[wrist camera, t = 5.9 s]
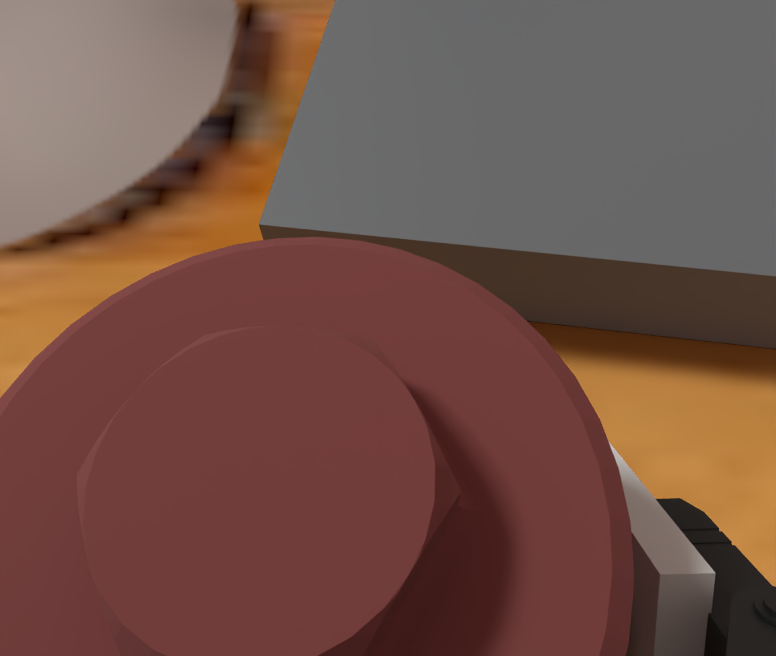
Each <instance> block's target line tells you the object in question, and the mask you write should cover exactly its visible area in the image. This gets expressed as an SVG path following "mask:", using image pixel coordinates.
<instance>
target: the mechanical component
mask: <svg viewBox="0 0 776 656" xmlns="http://www.w3.org/2000/svg"><path fill="white" fill-rule="evenodd" d="M633 591H634V566H633V551H632V536H631V521H630V517H629V512H628V508H627V503H626V499H625V494H624V490H623V485H622V481H621V476H620V472H619V468H618V465H617V463H616V460H615V457H614V455H613V452H612V450H611V447H610V444H609V442H608V439H607V437H606V434H605V432H604V429H603V426H602V424H601V421H600V419H599V417H598V415H597V414H596V412H595V410H594V408H593V407H592V405H591V403H590V401H589V400H588V398H587V396H586V394H585V393H584V391H583V389H582V388H581V386H580V384H579V382H578V381H577V379H576V377H575V376H574V374H573V373H572V372H571V371H570V369H569V368H568V367H567V365H566V364H565V363H564V362H563V360H562V359H561V358H560V357H559V355H558V354H557V353H556V352H555V350H554V349H553V348H552V346H551V345H550V344H549V343H548V341H547V340H546V339H545V338H544V337H543V336H542V335H541V334H540V333H539V332H538V331H536V330H535V329H534V328H533V327H532V326H531V325H530V324H529V323H528V322H527V321H526V320H525V319H524V318H523V317H522V316H521V315H520V314H519V313H518V312H516V311H515V310H514V309H513V308H512V307H510V306H509V305H508V304H506V303H505V302H503V301H502V300H501V299H499V298H498V297H496V296H495V295H494V294H492V293H491V292H489V291H488V290H487V289H485V288H484V287H482V286H481V285H480V284H478V283H476V282H474V281H472V280H471V279H469V278H467V277H465V276H463V275H461V274H459V273H457V272H455V271H453V270H451V269H449V268H447V267H446V266H444V265H442V264H440V263H437V262H434V261H431V260H429V259H426V258H423V257H420V256H417V255H415V254H412V253H409V252H406V251H404V250H401V249H396V248H392V247H387V246H383V245H378V244H374V243H369V242H364V241H360V240H349V239H337V238H326V237H299V238H275V239H268V240H262V241H256V242H250V243H243V244H237V245H232V246H228V247H225V248H221V249H218V250H214V251H211V252H207V253H204V254H200V255H197V256H193V257H190V258H188V259H185V260H183V261H181V262H178V263H176V264H173V265H171V266H168V267H166V268H164V269H161V270H159V271H156V272H154V273H152V274H150V275H148V276H146V277H144V278H142V279H141V280H139V281H137V282H135V283H133V284H132V285H130V286H128V287H126V288H124V289H123V290H121V291H119V292H117V293H115V294H114V295H112V296H110V297H109V298H107V299H106V300H105V301H103V302H102V303H100V304H99V305H98V306H96V307H95V308H93V309H92V310H91V311H89V312H88V313H86V314H85V315H84V316H82V317H81V318H80V319H78V320H77V321H75V322H74V323H73V324H71V325H70V326H69V327H68V328H67V329H66V330H65V331H64V332H63V333H61V334H60V335H59V336H58V337H57V338H56V339H55V340H54V341H53V342H52V343H51V344H49V345H48V346H47V347H46V348H45V349H44V350H43V351H42V352H41V353H40V354H39V355H37V356H36V357H35V358H34V360H33V361H32V362H31V363H30V364H29V365H28V366H27V368H26V369H25V370H24V371H23V372H22V373H21V375H20V376H19V377H18V378H17V379H16V380H15V382H14V383H13V384H12V385H11V386H10V387H9V389H8V390H7V391H6V392H5V393H4V394H3V396H2V397H1V398H0V656H626V652H627V648H628V644H629V635H630V624H631V613H632V602H633Z"/></svg>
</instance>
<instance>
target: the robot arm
mask: <svg viewBox="0 0 776 656" xmlns="http://www.w3.org/2000/svg"><path fill="white" fill-rule="evenodd" d="M608 442H609V441H608ZM609 444H610V443H609ZM610 447H611V450H612V452H613V455H614V457H615V460H616V463H617V465H618V468H619V472H620V476H621V481H622V485H623V490H624V494H625V499H626V503H627V508H628V512H629V517H630V521H631V536H632V551H633V566H634V591H633V602H632V613H631V624H630V635H629V644H628V648H627V652H626V656H776V587H774V586H772V585H771V584H770V583H769V582H768V581H767V580H766V579H765V578H764V577H763V575H762V574H761V573H760V572H759V571H758V570H757V569H756V568H755V567H754V566H753V565H752V564H751V562H750V561H749V560H748V559H747V558H746V557H745V556H744V555H743V554H742V553H741V552H740V551H739V549H738V548H737V547H736V546H735V545H732V544H731V541H730V540H729V539H728V538H727V537H726V535H725V534H724V533H723V532H719V528H718V527H717V526H716V525H715V524H714V522H713V521H712V520H711V519H710V518H709V517H708V516H707V515H706V514H705V513H704V512H703V511H701V510H699V509H698V508H696V507H694V506H693V505H691V504H689V503H687V502H686V501H684V500H682V499H680V498H674V499H655V498H654V497H653V496H652V494H651V493H650V492H649V491H648V489H647V488H646V487H645V486H644V484H643V483H642V482H641V481H640V480H639V478H638V477H637V476H636V475H635V473H634V472H633V471H632V470H631V468H630V467H629V466H628V465H627V464H626V462H625V461H624V460H623V459H622V457H621V456H620V455H619V454H618V452H617V451H616V450H615V449H614V448H613V446H612V445H611V444H610Z"/></svg>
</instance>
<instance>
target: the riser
mask: <svg viewBox="0 0 776 656" xmlns="http://www.w3.org/2000/svg"><path fill="white" fill-rule="evenodd" d="M259 226H260V230H261V233H262V236H263V239H264V240H268V239H275V238H299V237H326V238H337V239H349V240H360V241H364V242H369V243H374V244H378V245H383V246H387V247H392V248H396V249H401V250H404V251H406V252H409V253H412V254H415V255H417V256H420V257H423V258H426V259H429V260H431V261H434V262H437V263H440V264H442V265H444V266H446V267H447V268H449V269H451V270H453V271H455V272H457V273H459V274H461V275H463V276H465V277H467V278H469V279H471V280H472V281H474V282H476V283H478V284H480V285H481V286H482V287H484V288H485V289H487V290H488V291H489V292H491V293H492V294H494V295H495V296H496V297H498V298H499V299H501V300H502V301H503V302H505V303H506V304H508V305H509V306H510V307H512V308H513V309H514V310H515V311H516V312H518V313H519V314H520V315H521V316H522V317H523V318H524V319H525V320H526V321H532V322H541V323H550V324H559V325H568V326H577V327H586V328H595V329H604V330H612V331H621V332H630V333H639V334H648V335H657V336H666V337H675V338H684V339H693V340H702V341H710V342H719V343H728V344H737V345H746V346H755V347H764V348H773V349H776V0H335V3H334V6H333V9H332V12H331V15H330V18H329V21H328V23H327V26H326V29H325V32H324V35H323V38H322V41H321V44H320V47H319V50H318V53H317V56H316V59H315V62H314V64H313V67H312V70H311V73H310V76H309V79H308V82H307V85H306V88H305V91H304V94H303V97H302V100H301V103H300V105H299V108H298V111H297V114H296V117H295V120H294V123H293V126H292V129H291V132H290V135H289V138H288V141H287V144H286V146H285V149H284V152H283V155H282V158H281V161H280V164H279V167H278V170H277V173H276V176H275V179H274V182H273V185H272V187H271V190H270V193H269V196H268V199H267V202H266V205H265V208H264V211H263V214H262V217H261V220H260V223H259Z"/></svg>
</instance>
